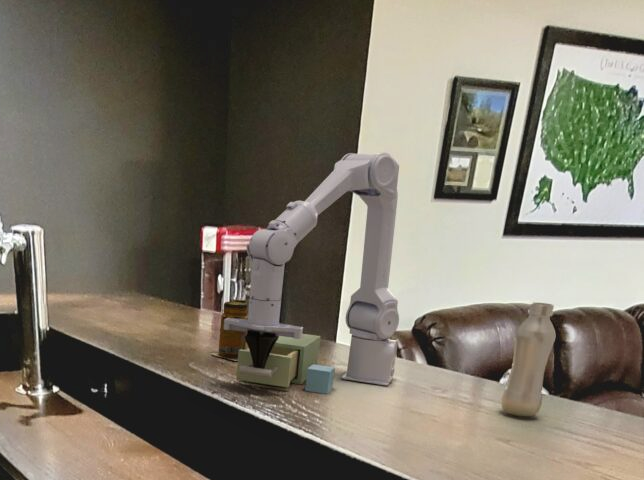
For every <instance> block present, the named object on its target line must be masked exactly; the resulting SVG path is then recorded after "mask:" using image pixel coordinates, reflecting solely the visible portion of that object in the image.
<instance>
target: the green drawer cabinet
mask: <svg viewBox="0 0 644 480" xmlns="http://www.w3.org/2000/svg"><path fill="white" fill-rule="evenodd" d="M271 332H272V331H271ZM321 339H322V336H321V335H314V334H308V333H302V338H300V339H294V338H291V337H284V336H279V338H278V340H277V341H276V343H275V345H274V346H275V347H282V348H289V349H297V350H300V359H299V368H298V375H297V376H296V377H295V378H293V379H292V380H291V381H290V384H296V385H302V384H303V383H304V382H306V377H307V369H308V368H309V367H310V366H311V365H313V364H315V365H319V364H318V363H319V356H320V355H319V353H320V347H321ZM248 348H249V347H248V346H247V349H248Z"/></svg>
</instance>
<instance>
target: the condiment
mask: <svg viewBox="0 0 644 480" xmlns="http://www.w3.org/2000/svg"><path fill="white" fill-rule="evenodd" d="M222 312H223V313H221V316H220V328H219V340H218V352H211V353H209V354H210V355H213V356H215V357H219V358H224V359H227V360H230V361H234V362H238V352H239V350H240V349H242V350H246V347H247V343H246V340H245V336H246V335H247V332H245V331H237V330H224V319H227V318H233V319H247V320H248V304H247V303H245V302H240V301H225V302H224V303H223V309H222Z"/></svg>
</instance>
